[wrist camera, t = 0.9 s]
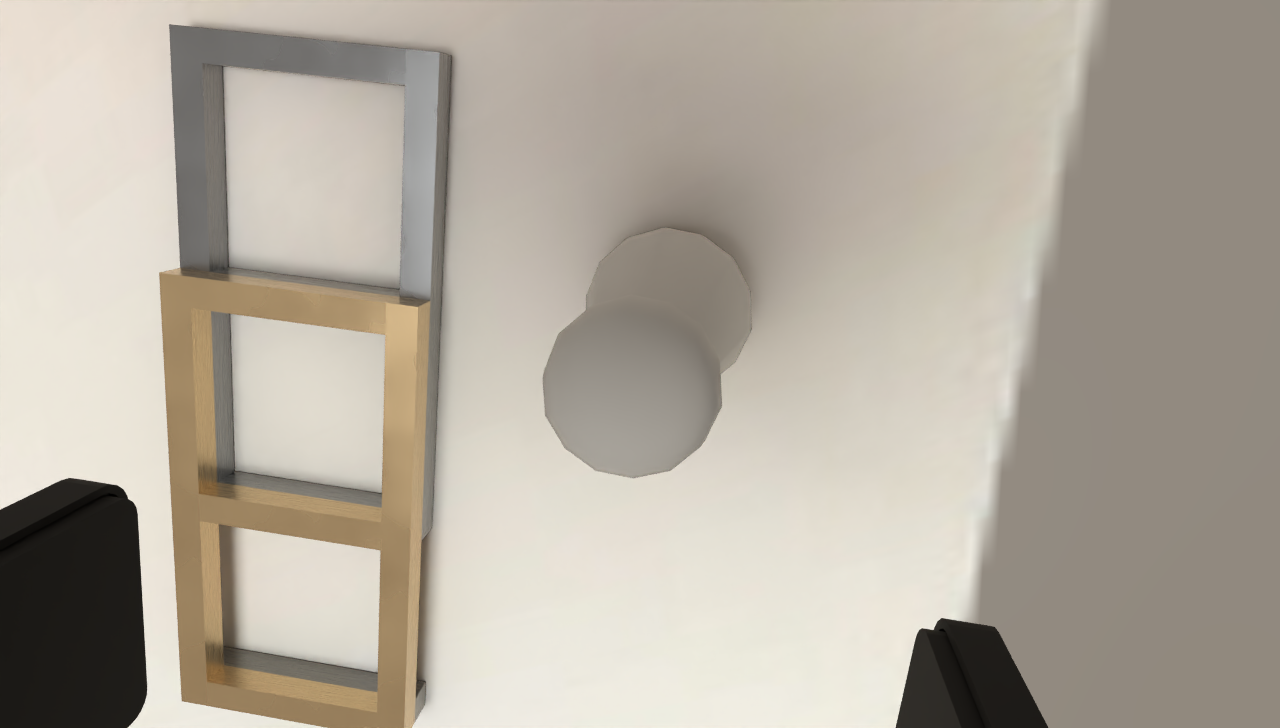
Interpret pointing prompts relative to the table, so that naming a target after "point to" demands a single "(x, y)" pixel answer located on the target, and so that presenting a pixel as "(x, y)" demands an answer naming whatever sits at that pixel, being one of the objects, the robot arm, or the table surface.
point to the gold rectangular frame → (294, 505)
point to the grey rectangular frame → (207, 250)
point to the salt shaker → (648, 354)
